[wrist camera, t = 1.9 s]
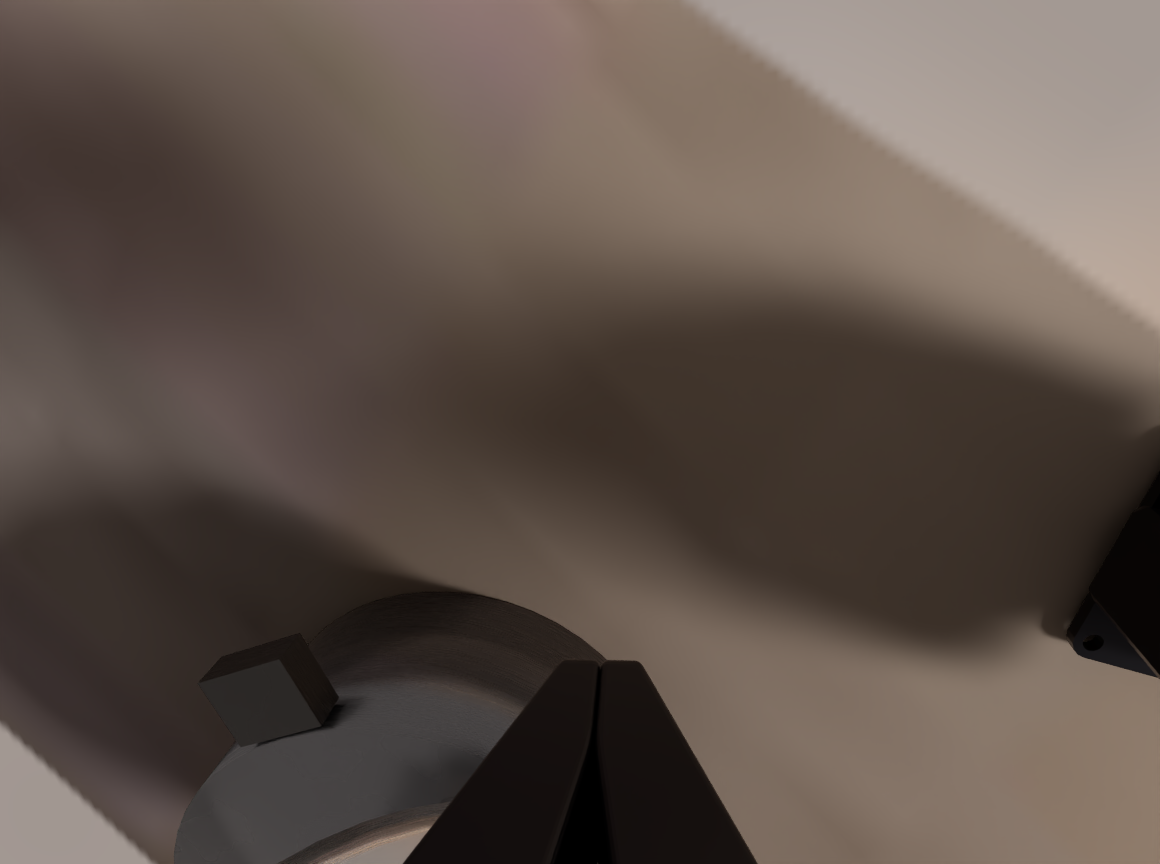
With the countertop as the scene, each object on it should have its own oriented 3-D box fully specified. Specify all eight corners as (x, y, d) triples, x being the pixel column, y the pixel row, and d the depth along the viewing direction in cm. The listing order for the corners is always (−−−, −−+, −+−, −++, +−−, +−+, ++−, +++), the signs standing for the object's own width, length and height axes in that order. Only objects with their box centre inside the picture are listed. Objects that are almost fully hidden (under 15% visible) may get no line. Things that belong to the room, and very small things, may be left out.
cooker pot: (568, 469, 22) (523, 586, 16) (765, 902, 27) (783, 1106, 21) (180, 599, 25) (35, 731, 20) (416, 958, 30) (353, 1144, 25)
